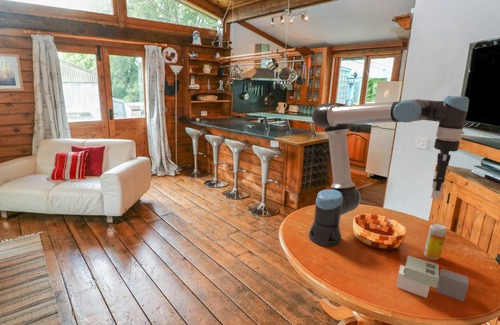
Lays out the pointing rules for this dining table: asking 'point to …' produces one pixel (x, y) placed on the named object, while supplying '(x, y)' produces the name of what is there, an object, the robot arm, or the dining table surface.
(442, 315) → the dining table surface
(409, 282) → the white open box
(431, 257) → the yellow labelled bottle
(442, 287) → the block
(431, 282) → the grey block
